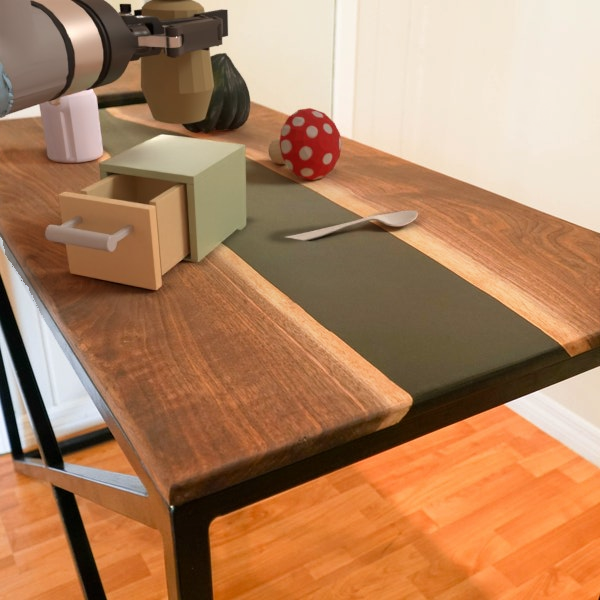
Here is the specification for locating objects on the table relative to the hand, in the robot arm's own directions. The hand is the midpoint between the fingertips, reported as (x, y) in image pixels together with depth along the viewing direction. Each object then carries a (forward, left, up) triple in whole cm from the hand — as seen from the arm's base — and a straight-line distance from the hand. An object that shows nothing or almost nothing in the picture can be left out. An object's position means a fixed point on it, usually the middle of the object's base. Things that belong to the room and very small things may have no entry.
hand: (196, 20), depth 74 cm
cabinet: (-1, -5, -25) cm, 25 cm away
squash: (-21, +45, -25) cm, 56 cm away
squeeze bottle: (0, -5, -10) cm, 11 cm away
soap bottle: (-34, +19, -25) cm, 46 cm away
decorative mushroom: (+4, +27, -25) cm, 37 cm away
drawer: (-1, -16, -24) cm, 29 cm away
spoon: (+18, +5, -25) cm, 31 cm away
